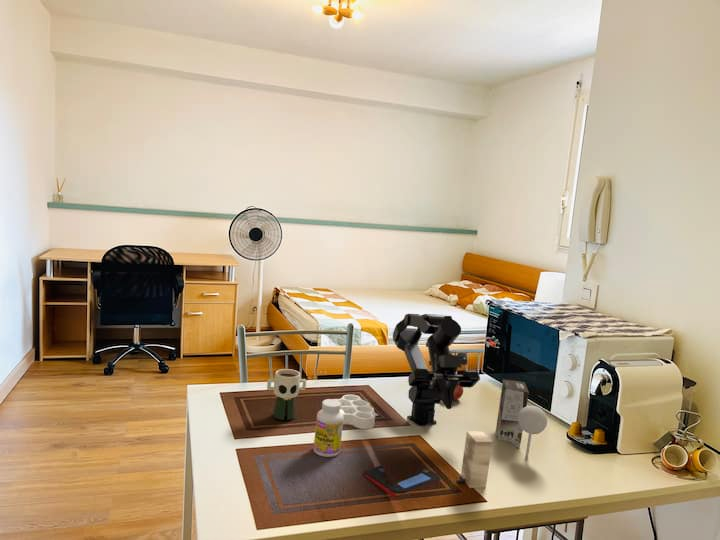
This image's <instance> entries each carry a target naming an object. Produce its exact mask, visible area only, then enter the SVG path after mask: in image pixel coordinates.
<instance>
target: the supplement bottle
mask: <svg viewBox="0 0 720 540" xmlns="http://www.w3.org/2000/svg"><path fill="white" fill-rule="evenodd" d="M334 399H335V398H333V399H332V398H327V399H324V400H323V401H322V402H321V403H322V404H321V409H320V410H318V412H317V414H316V421H315V429H314V430H315V431H314V439H313V452H314V453H315V454H317V455H318V456H320V457H324V458H332V457H336V456H337V455H339V453H340V450H341V444H342V435H343V428H344V427H343V426H344V425H343V419H344V417H343V414H342V413H341V412H340V409H341V402H340V401H338V400H334Z"/></svg>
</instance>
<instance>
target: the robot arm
mask: <svg viewBox="0 0 720 540" xmlns="http://www.w3.org/2000/svg"><path fill="white" fill-rule="evenodd" d="M410 327H413V328H410ZM461 333H462V327H461V325H460V324H459V323H458V322H457V321H456V320H455V319H453V317H452V315H444V314H435V313H434V314H433V313H432V314H431V313H424V314H419V313H406V314H404V317H403V319H402V320H400V321H399V322H398V323H397V324H396V325H395V327H394V329H393V332H392V340H393V342H394V344H395V346H396V348H397V349H399V350H401V351H403V352H404V355H405V357H406V360H407V362H408V365H409V367H410V370H411V373H410V374H409V375H408V379H407V381H408V386H410V388H409V389H408V399H409V400H410V402H411V403H412V407H411V414H410V415H407V416H406V418H407V419H408V420H410V421H411V422H413V423H414V424H416V425H417V426H420V427H424V426H425V427H426V426H429V425H434V424H437V420H435V413H436V409H435V406H436V404H437V405H440V404H441V403H442V404H443V405H444V407H445V408H446V409H447V410H451V409H452V406H453V401H454V400H453V395H454V391H455V388H456V387H457V386H458V385H460V386H461V387H463V388H469V389H470V388H473V387H474V386H476V384H477V383H478V382H479V381H480V380H481V377H480V373H479V372H478V371H477V370H474V369H473V370H472V369H464V370H463V371H462V372H461V374H455V373H456V372H457V371H458V368H460V369H461V368H462V367H463V366H465V365H467V364H468V357H467V353H466V352H458V353H457V354H453V353H452V352H451V353H450V346H452V345H453V344H454V342H456V339H457V338H458V337H459V336H460V335H461ZM423 334H424V335H429V337H428V338H427V339H426V343H425V347H426V348H428V356H429V361H428V365H429V366H431V370H429V367H428V365H427V363H426V360H425V359H424V356H423V354H422V352H421V350H420V347H419V342H420V339H421V337H422V335H423ZM467 366H468V365H467Z"/></svg>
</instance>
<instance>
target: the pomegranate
mask: <svg viewBox="0 0 720 540" xmlns="http://www.w3.org/2000/svg"><path fill="white" fill-rule="evenodd" d="M463 394H464V387H461V386H460V385H458V386H457V387H456V388H455V391H454V395H453V401H457V400H459V399H460V398H462V396H463Z"/></svg>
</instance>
